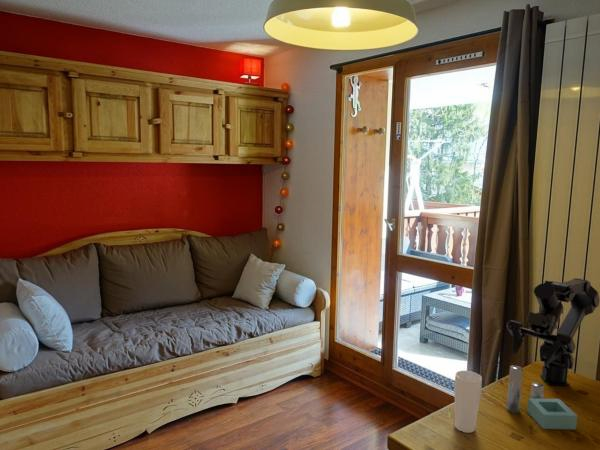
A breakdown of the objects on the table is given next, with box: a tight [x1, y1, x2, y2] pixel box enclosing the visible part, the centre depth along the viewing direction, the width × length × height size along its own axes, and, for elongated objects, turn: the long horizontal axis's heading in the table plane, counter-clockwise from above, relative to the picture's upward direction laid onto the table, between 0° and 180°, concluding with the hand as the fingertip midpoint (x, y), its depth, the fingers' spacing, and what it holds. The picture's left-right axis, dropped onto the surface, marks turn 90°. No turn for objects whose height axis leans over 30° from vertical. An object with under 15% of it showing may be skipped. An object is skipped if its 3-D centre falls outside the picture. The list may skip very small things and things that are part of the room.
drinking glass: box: [453, 370, 483, 434], centre depth 127 cm, size 7×7×15 cm
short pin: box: [529, 382, 545, 399], centre depth 144 cm, size 3×3×4 cm
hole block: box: [526, 398, 578, 430], centre depth 132 cm, size 9×9×4 cm
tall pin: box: [505, 364, 524, 414], centre depth 137 cm, size 3×3×13 cm
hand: (529, 359), depth 141 cm, fingers open, 9 cm apart
